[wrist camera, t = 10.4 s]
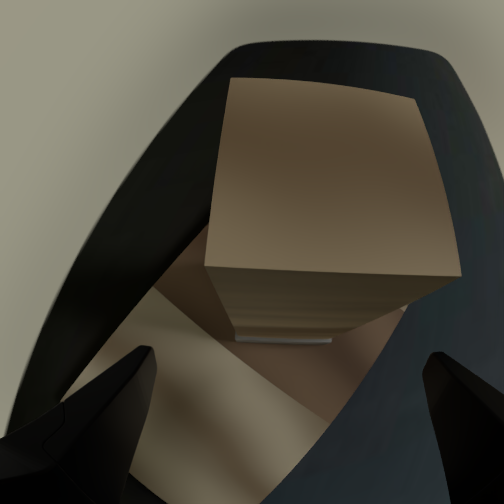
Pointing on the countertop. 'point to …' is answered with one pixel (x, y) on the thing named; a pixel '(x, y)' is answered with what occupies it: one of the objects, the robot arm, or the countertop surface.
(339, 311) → the tall wooden post
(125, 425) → the robot arm
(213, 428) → the subfloor panel
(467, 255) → the countertop surface
